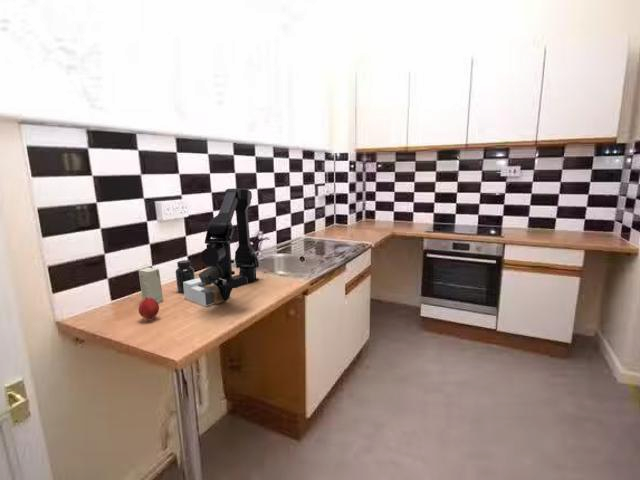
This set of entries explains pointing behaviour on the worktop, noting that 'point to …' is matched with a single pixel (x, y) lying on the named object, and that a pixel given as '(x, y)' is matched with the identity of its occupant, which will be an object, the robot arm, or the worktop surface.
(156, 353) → the worktop surface
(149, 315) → the onion
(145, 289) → the skincare box
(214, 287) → the peg
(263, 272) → the worktop surface
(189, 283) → the sleeve
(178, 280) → the supplement bottle
